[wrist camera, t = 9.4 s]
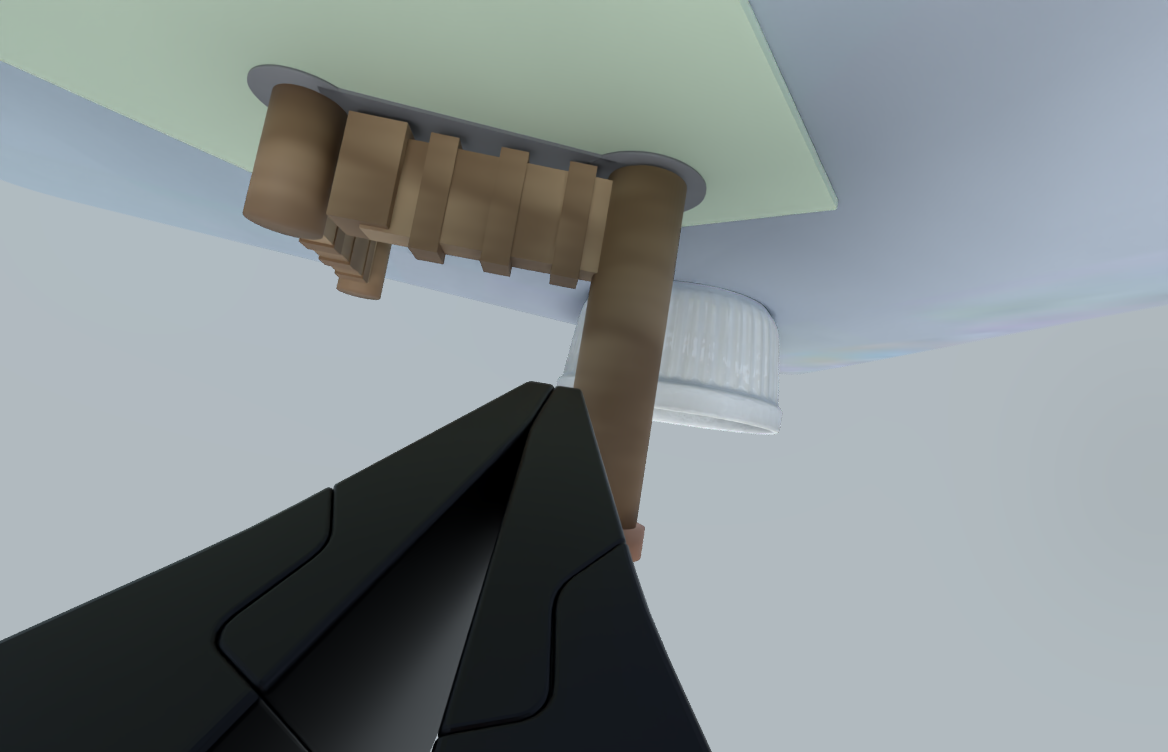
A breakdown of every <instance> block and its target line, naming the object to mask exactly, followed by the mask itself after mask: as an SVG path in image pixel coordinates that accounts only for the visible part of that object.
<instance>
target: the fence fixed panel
mask: <svg viewBox="0 0 1168 752" xmlns="http://www.w3.org/2000/svg"><path fill="white" fill-rule="evenodd" d="M347 118H348V115H347V114H346V112H345V111H344V110H343V109H342V108H341V107H340V106H339V105H338V104H337V103H335V102H334V101H332V100H331V99H329V98H328V97H326V96H324V95H322V94H320V93H318V92H316V91H314V90H311V89H309V88H306V87H303V86H299V85H295V84H286V83H284V84H277V85H275V86H274V87H273V88H272V92H271V97H270V101H269V105H268V109H267V113H266V117H265V122H264V126H263V130H262V134H261V138H260V142H259V146H258V151H257V155H256V159H255V163H254V167H253V171H252V176H251V180H250V184H249V188H248V192H247V196H246V201H245V205H244V209H243V215H244V216H245V217H246V218H247V219H248V220H250V221H252V222H254V223H256V224H258V225H260V226H262V227H264V228H267V229H270V230H272V231H275V232H278V233H281V234H285V235H289V236H293V237H297V238H300V239H299V242H300V243H301V244H303V245H304V246H305V247H306V248H307V249H311V250H314V251H315V252H316V253H317V254H318V255H319V260H320V261H321V262H323V263H324V264H325V265H328V266H331V267H333V269H335V274H336V275H337V276H338V277H339V280H338V284H337V290H339V291H341V292H343V293H346V294H349V295H352V296H356V297H360V298H365V299H372V300H379V299H380V297H381V292H382V288H383V283H384V278H385V273H386V269H387V264H388V259H389V254H390V249H391V245H392V244H389V243H384V242H378V241H373V240H370V239H365V238H360V237H354V236H349V235H346V234H345V233H344V232H343V231H342V230H341V229H340V228H339V227H338V226H337V225H336V224H335V223H334V222H333V221H332V220H331V219H330V218H329V217H328V216H327V215H326V212H327V207H328V203H329V198H330V194H331V189H332V185H333V180H334V176H335V171H336V167H337V162H338V158H339V153H340V149H341V144H342V140H343V135H344V131H345V126H346V122H347Z"/></svg>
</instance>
